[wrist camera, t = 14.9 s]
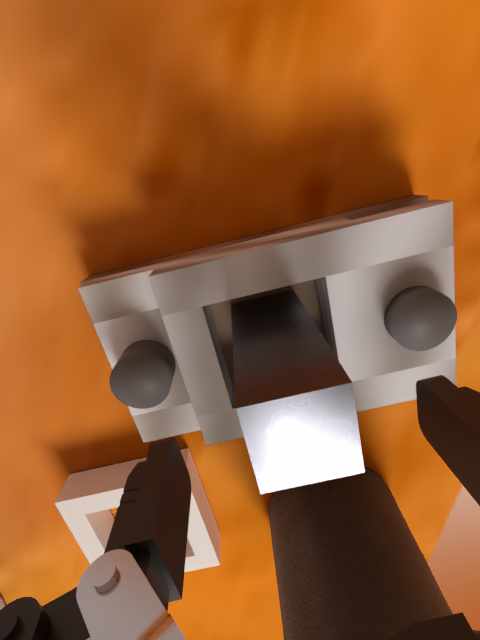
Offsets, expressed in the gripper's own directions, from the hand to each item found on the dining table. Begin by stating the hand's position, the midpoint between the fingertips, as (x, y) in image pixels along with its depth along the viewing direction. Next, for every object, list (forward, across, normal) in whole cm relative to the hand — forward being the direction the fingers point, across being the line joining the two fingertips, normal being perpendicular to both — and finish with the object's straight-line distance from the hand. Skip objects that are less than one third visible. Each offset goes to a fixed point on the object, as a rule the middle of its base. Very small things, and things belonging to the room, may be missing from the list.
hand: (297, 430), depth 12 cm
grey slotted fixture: (+11, 0, 0) cm, 11 cm away
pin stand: (+11, +12, +13) cm, 21 cm away
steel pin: (+10, 0, 0) cm, 10 cm away
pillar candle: (+11, -2, +18) cm, 21 cm away
